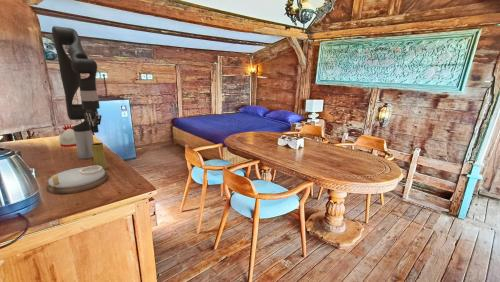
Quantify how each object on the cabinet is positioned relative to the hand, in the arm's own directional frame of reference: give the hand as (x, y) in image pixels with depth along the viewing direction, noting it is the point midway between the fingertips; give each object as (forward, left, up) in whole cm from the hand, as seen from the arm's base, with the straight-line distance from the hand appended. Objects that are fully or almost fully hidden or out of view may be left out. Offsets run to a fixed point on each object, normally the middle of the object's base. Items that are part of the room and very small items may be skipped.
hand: (95, 132), depth 125 cm
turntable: (+9, -15, -19) cm, 26 cm away
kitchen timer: (-65, +14, -21) cm, 70 cm away
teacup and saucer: (-84, +18, -22) cm, 89 cm away
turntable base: (+9, -15, -21) cm, 27 cm away
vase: (0, 0, -21) cm, 21 cm away
